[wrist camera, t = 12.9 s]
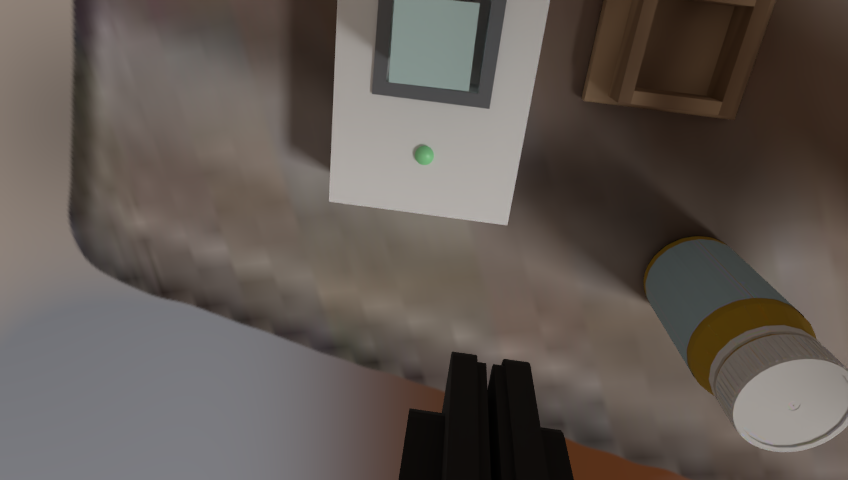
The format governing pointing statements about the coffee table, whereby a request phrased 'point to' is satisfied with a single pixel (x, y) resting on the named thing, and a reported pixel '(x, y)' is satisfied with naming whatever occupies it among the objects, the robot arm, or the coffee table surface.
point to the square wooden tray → (676, 54)
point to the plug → (433, 43)
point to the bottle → (747, 346)
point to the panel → (433, 116)
